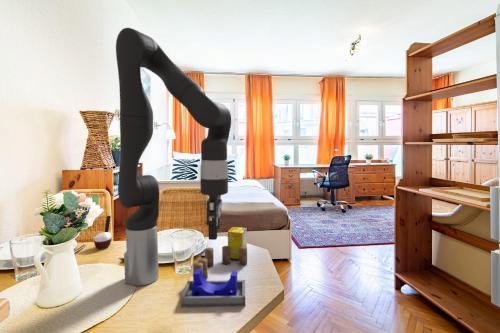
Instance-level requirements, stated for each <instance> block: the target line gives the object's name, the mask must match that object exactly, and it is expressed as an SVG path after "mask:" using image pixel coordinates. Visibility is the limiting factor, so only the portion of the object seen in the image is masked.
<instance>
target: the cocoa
mask: <svg viewBox="0 0 500 333" xmlns="http://www.w3.org/2000/svg"><path fill="white" fill-rule="evenodd" d="M110 222H111V215H107V216H106V221H105V226H104V231H103V232H100V233H98V234H97V235H95V236H94V237H93V243H94V247H95V248H96V249H97V250H104V249H107V248H109V247H110V245H111V242H112V233H111V232H109V229H110Z"/></svg>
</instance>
